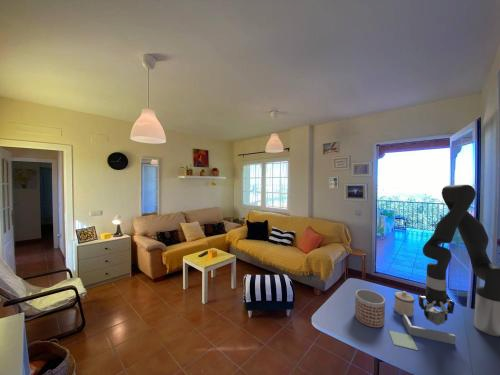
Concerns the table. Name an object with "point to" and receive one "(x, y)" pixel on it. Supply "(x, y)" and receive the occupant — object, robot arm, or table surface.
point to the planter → (370, 308)
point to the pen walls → (428, 332)
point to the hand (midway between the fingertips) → (435, 318)
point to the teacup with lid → (404, 303)
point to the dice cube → (436, 316)
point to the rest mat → (403, 340)
